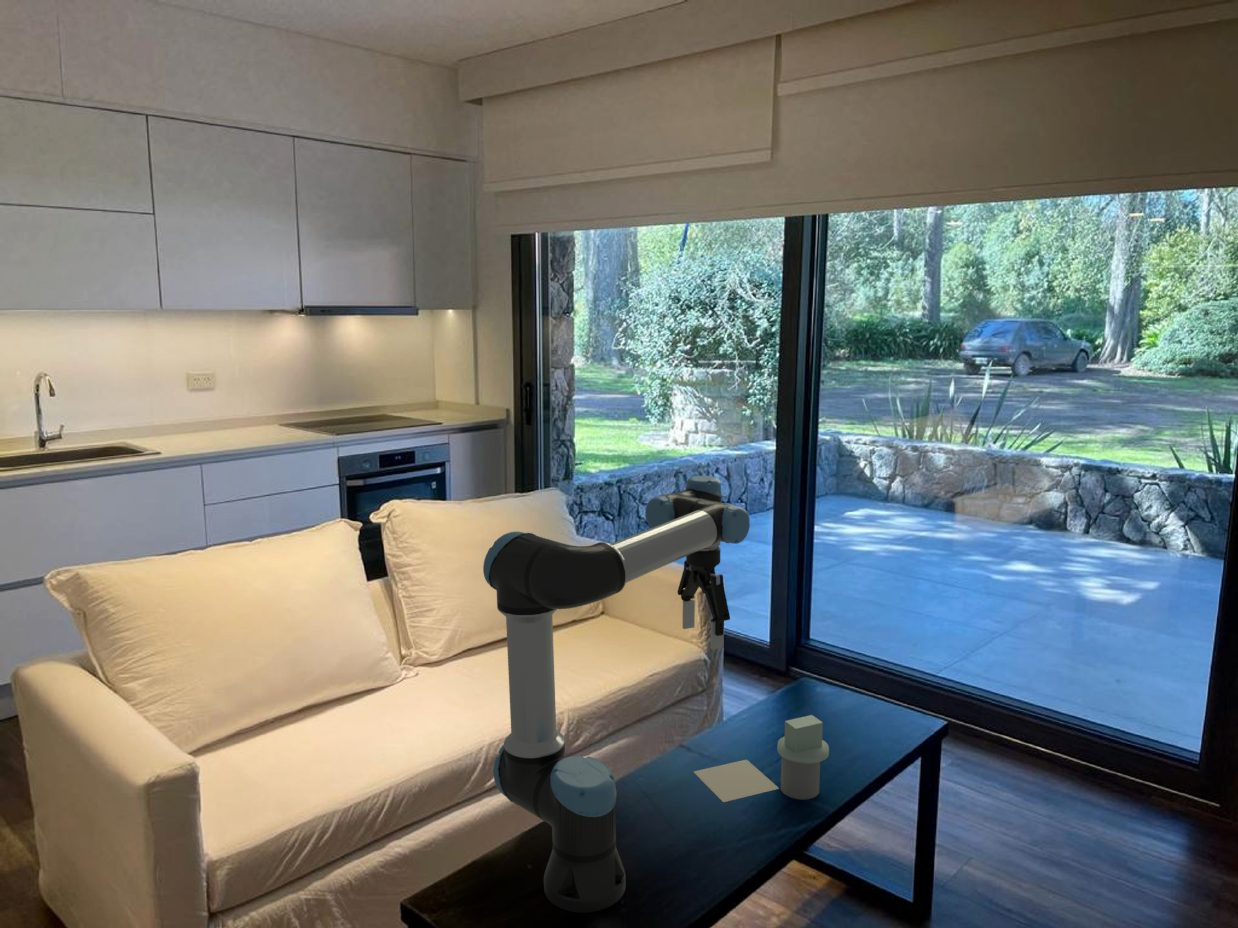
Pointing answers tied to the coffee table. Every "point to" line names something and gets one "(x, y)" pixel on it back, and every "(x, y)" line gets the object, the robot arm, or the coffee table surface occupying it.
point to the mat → (735, 780)
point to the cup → (800, 779)
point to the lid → (803, 741)
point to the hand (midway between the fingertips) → (702, 637)
